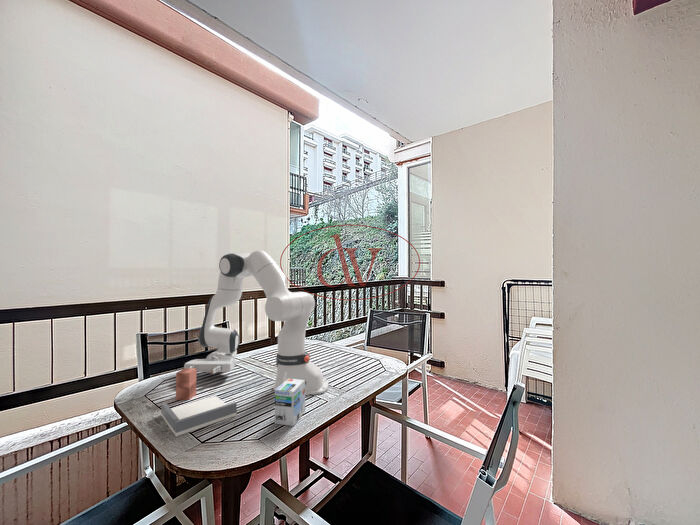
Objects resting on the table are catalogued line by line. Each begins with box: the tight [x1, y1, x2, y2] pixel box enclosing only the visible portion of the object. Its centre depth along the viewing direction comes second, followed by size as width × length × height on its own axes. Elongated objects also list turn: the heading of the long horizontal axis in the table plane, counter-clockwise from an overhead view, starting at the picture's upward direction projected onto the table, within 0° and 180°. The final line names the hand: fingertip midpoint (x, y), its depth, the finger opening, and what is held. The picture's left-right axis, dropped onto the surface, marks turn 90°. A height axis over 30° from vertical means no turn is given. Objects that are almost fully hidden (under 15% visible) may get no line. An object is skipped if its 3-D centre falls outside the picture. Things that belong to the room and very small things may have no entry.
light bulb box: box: [274, 379, 306, 427], centre depth 98 cm, size 11×7×11 cm, turn 168°
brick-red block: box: [175, 368, 198, 401], centre depth 114 cm, size 5×5×10 cm
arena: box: [160, 395, 238, 437], centre depth 100 cm, size 18×18×4 cm
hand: (200, 371), depth 124 cm, fingers open, 8 cm apart
